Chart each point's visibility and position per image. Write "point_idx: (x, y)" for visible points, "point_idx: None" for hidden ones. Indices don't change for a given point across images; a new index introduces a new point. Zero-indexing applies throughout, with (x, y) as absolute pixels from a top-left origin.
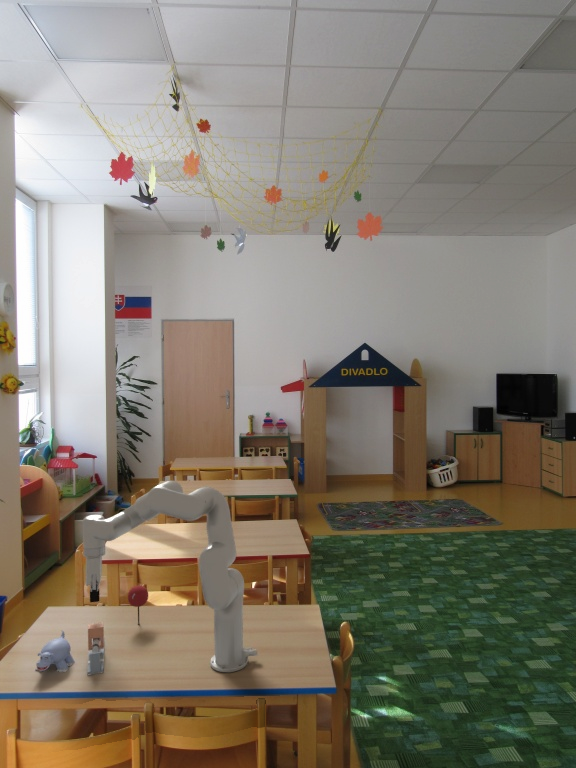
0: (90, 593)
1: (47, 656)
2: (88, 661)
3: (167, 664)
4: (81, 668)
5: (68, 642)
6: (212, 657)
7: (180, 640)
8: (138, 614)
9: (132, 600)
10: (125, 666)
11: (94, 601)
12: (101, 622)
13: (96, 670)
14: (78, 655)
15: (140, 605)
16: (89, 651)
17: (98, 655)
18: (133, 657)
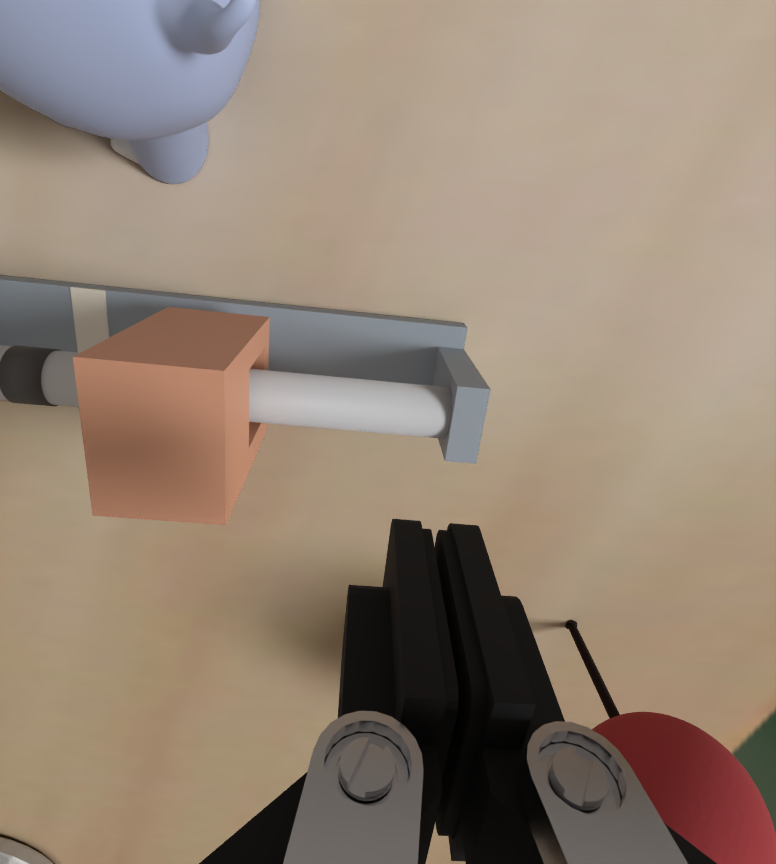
0: (403, 658)
1: None
2: (92, 292)
3: (14, 692)
4: (56, 232)
5: (122, 110)
6: (3, 857)
7: (267, 766)
8: (591, 677)
9: None
10: (30, 508)
11: (385, 583)
12: (224, 507)
13: None
14: (279, 222)
15: None
16: (265, 310)
17: None
18: (138, 558)
